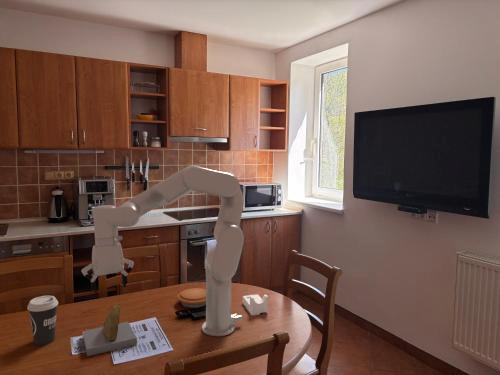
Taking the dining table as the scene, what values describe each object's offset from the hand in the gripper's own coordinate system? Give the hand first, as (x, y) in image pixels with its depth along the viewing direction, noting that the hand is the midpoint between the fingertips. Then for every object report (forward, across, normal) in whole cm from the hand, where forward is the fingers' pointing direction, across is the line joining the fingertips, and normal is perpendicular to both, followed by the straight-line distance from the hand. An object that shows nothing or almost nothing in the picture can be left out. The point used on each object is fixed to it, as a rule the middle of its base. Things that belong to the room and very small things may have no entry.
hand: (109, 288), depth 132 cm
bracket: (+22, -58, 0) cm, 62 cm away
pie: (+20, -38, -17) cm, 46 cm away
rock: (+17, +1, 0) cm, 17 cm away
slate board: (+19, +1, 0) cm, 19 cm away
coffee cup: (+19, +21, -11) cm, 30 cm away
